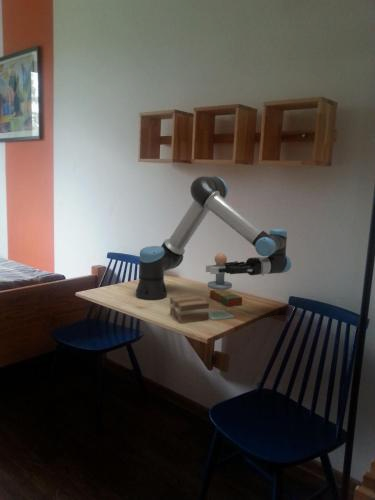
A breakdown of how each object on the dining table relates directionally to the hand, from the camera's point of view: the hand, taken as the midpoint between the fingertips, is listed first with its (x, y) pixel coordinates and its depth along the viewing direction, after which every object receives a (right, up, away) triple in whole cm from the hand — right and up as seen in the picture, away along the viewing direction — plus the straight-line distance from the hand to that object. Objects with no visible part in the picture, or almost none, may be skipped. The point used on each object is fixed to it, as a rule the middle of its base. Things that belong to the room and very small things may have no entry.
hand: (208, 269), depth 171 cm
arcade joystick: (+5, -7, +3) cm, 9 cm away
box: (-8, -20, +2) cm, 21 cm away
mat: (+4, -19, +6) cm, 21 cm away
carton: (+9, -17, +26) cm, 32 cm away
